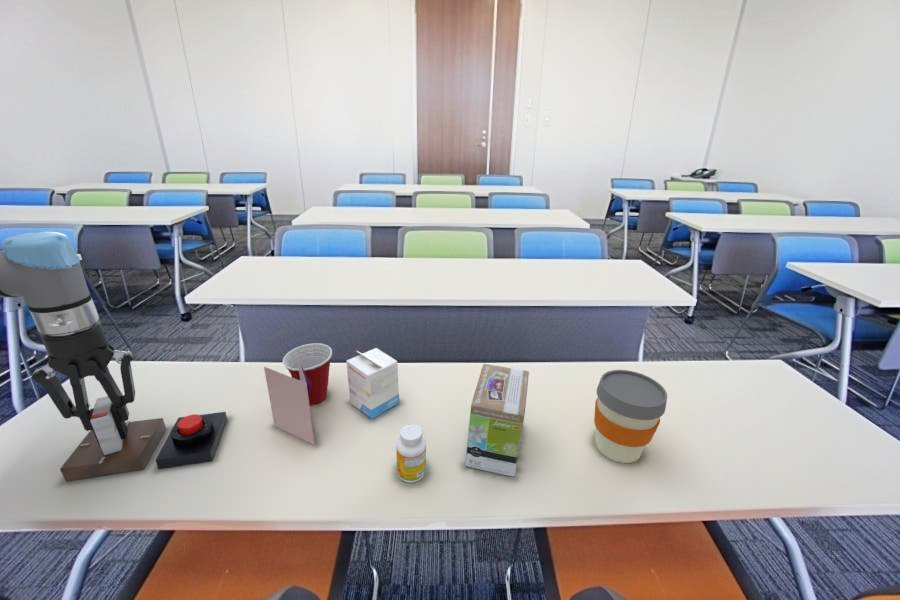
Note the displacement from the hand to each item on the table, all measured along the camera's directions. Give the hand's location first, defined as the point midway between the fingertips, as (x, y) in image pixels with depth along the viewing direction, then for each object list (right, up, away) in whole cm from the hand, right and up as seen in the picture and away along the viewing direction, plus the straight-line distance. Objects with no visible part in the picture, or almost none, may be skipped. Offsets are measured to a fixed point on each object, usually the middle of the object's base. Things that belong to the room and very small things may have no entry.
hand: (113, 437), depth 75 cm
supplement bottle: (+56, -7, 0) cm, 57 cm away
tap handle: (0, -1, 0) cm, 1 cm away
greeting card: (+31, -2, +9) cm, 32 cm away
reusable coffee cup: (+99, -5, +8) cm, 99 cm away
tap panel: (0, -4, +2) cm, 4 cm away
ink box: (+46, +2, +18) cm, 49 cm away
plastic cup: (+31, +3, +19) cm, 37 cm away
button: (+13, +1, +3) cm, 13 cm away
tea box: (+73, -4, +7) cm, 73 cm away
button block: (+12, -3, +5) cm, 14 cm away
